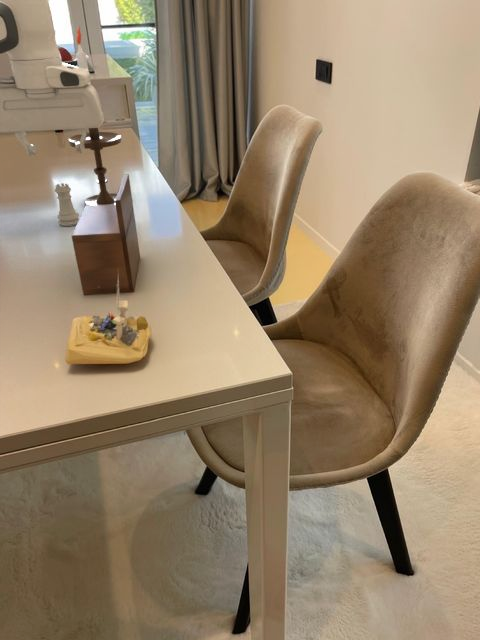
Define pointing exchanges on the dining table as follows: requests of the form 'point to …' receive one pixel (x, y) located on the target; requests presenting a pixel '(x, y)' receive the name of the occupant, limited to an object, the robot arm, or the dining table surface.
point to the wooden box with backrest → (108, 245)
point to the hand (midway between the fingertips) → (56, 153)
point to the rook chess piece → (66, 206)
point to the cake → (108, 338)
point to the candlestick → (96, 145)
